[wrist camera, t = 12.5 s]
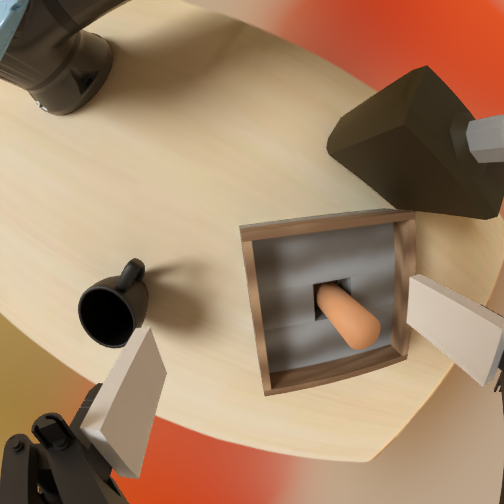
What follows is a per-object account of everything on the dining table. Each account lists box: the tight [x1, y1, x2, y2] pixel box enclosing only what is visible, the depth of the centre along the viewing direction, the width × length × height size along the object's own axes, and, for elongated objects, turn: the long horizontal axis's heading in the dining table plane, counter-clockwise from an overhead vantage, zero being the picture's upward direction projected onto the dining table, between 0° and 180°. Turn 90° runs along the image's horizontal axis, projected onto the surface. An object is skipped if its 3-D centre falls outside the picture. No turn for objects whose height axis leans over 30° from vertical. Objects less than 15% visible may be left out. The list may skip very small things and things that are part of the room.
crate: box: [239, 209, 416, 396], centre depth 35 cm, size 22×22×8 cm
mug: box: [78, 258, 148, 348], centre depth 32 cm, size 8×12×10 cm
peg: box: [313, 281, 381, 350], centre depth 32 cm, size 4×4×14 cm
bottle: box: [326, 66, 504, 220], centre depth 24 cm, size 8×16×25 cm, turn 58°
